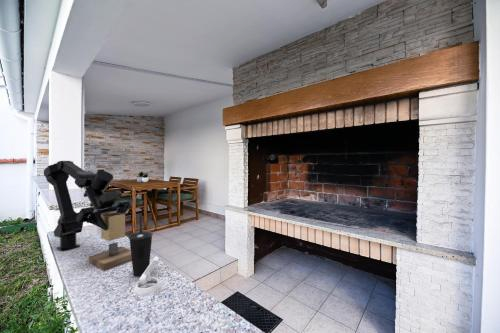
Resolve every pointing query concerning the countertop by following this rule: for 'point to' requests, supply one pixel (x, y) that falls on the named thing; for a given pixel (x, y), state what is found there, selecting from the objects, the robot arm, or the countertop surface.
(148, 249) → the drinking cup
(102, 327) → the countertop surface
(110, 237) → the collar
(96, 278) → the countertop surface
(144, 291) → the hook
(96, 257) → the post stand
